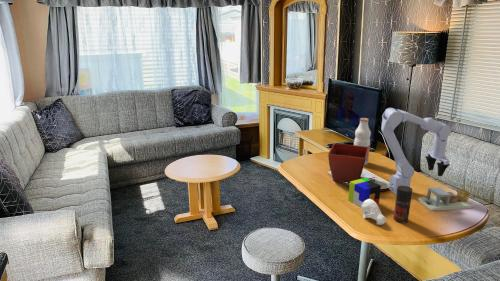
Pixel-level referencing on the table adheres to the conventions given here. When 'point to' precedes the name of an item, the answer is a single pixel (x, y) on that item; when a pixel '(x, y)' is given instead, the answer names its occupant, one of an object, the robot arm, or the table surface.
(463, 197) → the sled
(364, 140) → the white bottle
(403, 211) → the deodorant
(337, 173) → the plant pot
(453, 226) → the table surface
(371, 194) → the puzzle toy
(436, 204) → the deck tunnel
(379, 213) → the white rounded lumpy piece
